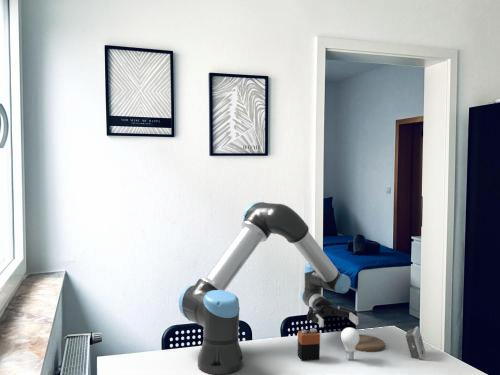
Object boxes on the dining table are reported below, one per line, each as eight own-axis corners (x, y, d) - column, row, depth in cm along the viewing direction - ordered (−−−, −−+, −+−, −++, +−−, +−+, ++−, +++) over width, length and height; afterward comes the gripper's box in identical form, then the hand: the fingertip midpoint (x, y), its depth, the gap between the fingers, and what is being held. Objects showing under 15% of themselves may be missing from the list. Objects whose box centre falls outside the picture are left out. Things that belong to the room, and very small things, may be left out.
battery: (320, 360, 146) (320, 331, 146) (301, 361, 145) (301, 332, 145) (315, 355, 151) (316, 327, 151) (297, 356, 149) (297, 328, 149)
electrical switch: (422, 361, 147) (420, 334, 148) (406, 359, 150) (404, 332, 150) (425, 352, 156) (423, 326, 156) (410, 350, 158) (408, 325, 158)
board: (336, 342, 163) (336, 339, 163) (361, 334, 172) (361, 331, 172) (368, 355, 151) (368, 352, 151) (393, 346, 160) (393, 343, 160)
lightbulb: (359, 364, 144) (360, 331, 144) (340, 362, 145) (341, 330, 145) (358, 356, 150) (359, 325, 150) (340, 355, 151) (340, 324, 151)
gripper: (348, 313, 180) (371, 330, 159) (291, 315, 176) (307, 334, 155) (348, 295, 180) (371, 310, 159) (291, 297, 176) (307, 314, 155)
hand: (340, 322), depth 157 cm, fingers open, 13 cm apart
